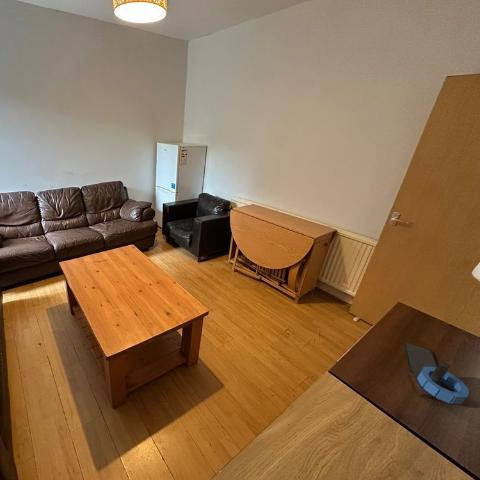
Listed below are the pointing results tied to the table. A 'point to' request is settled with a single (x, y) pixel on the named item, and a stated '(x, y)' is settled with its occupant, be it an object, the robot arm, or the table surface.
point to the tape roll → (441, 393)
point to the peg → (435, 377)
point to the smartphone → (418, 358)
